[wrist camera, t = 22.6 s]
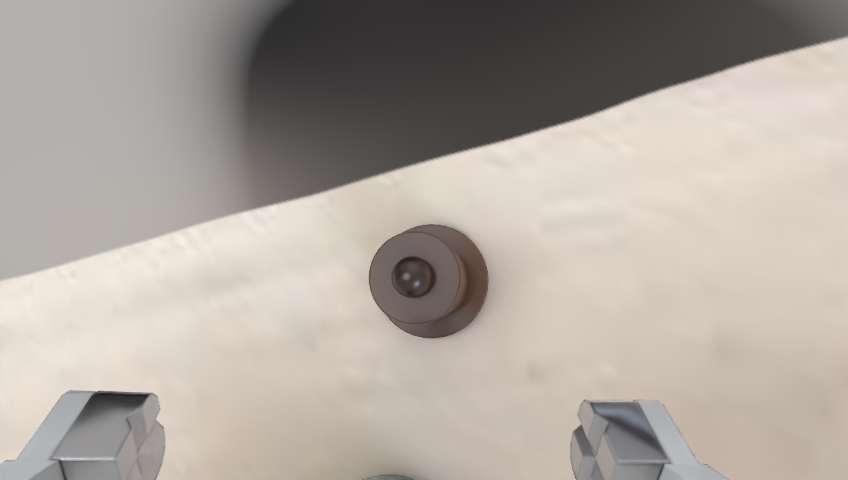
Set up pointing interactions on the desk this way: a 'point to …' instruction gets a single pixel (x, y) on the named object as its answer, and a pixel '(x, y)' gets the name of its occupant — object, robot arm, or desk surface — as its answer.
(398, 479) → the teal mug
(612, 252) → the desk surface
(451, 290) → the lid
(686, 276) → the desk surface
